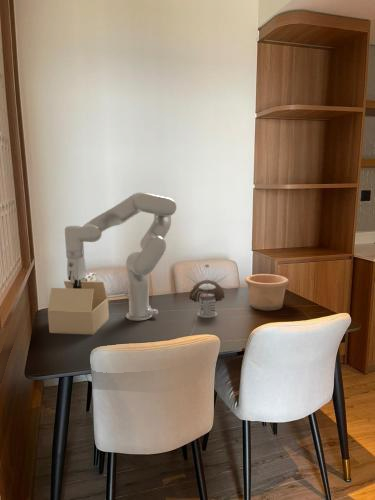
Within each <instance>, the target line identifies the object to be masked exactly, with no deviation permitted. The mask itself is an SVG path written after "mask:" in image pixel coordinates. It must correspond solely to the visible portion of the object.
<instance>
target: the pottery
mask: <svg viewBox="0 0 375 500" xmlns="http://www.w3.org/2000/svg"><path fill="white" fill-rule="evenodd" d="M244 280H245V281H244V282H245V283H246V284H247V290H248V291H247V292H248V298H249V305H250V307H252V308H253V309H256V310H260V311H277V310H280V309H282V308H283V306H284V305H283V304H284V300H285V293H286V288H287V285H289V282H290V281H289V279H288V278H287V277H286V276H283V275H277V274H273V273H272V274H271V273H257V274H251V275H248V276H246V277H245V278H244Z"/></svg>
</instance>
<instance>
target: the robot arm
mask: <svg viewBox="0 0 375 500" xmlns="http://www.w3.org/2000/svg"><path fill="white" fill-rule="evenodd" d="M176 211H177V203H176V201H175V200H174V199H172V198H170V197H165V196H161V195H155V194H152V193H148V192H147V193H146V192H135V193H133V194H131V195H130V196H129V197H127V198H125V199H124V200H122V201H121V202H120V203H118V204H116V205H115V206H113V207H111V208H110V209H108V210H106V211H104V212H103V213H101V214H98V215H97V216H96V217H94V218H92V219H91V220H89V221H88V222H86V223H85V224H83V226H80V225H68V226H65V228H64V238H65V240H64V241H65V253H66V254H65V255H66V259H67V260H66V261H67V262H66V274H67V281H70V284H72V285H73V289H82V288H81V284H82V279H83V278H84V277H85V276H86V274H87V268H86V266H87V265H86V260H85V248H84V242H85V243H96V242H98V241H100V239H101V238H102V234H103V232H105V231H106V230H108V229H110V228H112V227H115V226H116V227H117V226H120V225H123V224H124V223H126V222H127V221H129V220H130V219H132V218H133V217H135V216H136V215H138V214H139V213H142V212H143V213H147V214H152V215H154V216H153V217H154V218H153V221H152V223H151V225H150V226H149V228H148V229H147V231H146V233H145V234H144V235H143V236H142V238H141V240H140V244H139V245H140V248H141V251H133V252H131V253H130V254H129V255H128V256H127V258H126V262H125V263H126V265H125V266H126V272H127V281H128V283H127V284H128V286H127V287H128V288H127V289H128V306H129V307H128V308H129V309H128V311H129V312H127V313H126V315H125V317H126V319H128V321H137V322H139V321H141V322H142V321H146V320H148V319H151V318H152V317H153V315H158V314H159V311H158V309H156V308H151V305H150V300H149V299H150V296H149V295H150V294H149V275H150V273H152V272H153V271H154V269H155V267H156V266H157V265H158V263H159V261H161V259H162V257H163V255H164V253H165V252H166V248H167V243H166V240H165V238H166V236H167V234H168V233H169V231H170V229H171V225H172V216H173V215H174V214H175V213H176Z"/></svg>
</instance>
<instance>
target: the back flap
mask: <svg viewBox="0 0 375 500" xmlns="http://www.w3.org/2000/svg"><path fill="white" fill-rule="evenodd" d="M63 283H64V284H63V285H64V286H65V287H64V288H73V285H72V284H70V280H63ZM81 288H82V289H94V290H93V298H108V294H107V291H106V287H105V283H104V281H97V280H96V281H82V284H81Z"/></svg>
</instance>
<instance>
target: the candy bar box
mask: <svg viewBox="0 0 375 500" xmlns="http://www.w3.org/2000/svg"><path fill="white" fill-rule="evenodd" d="M82 281H96V282H97V273H96V272H86V276H85V277H84V278H83V279H82Z"/></svg>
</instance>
